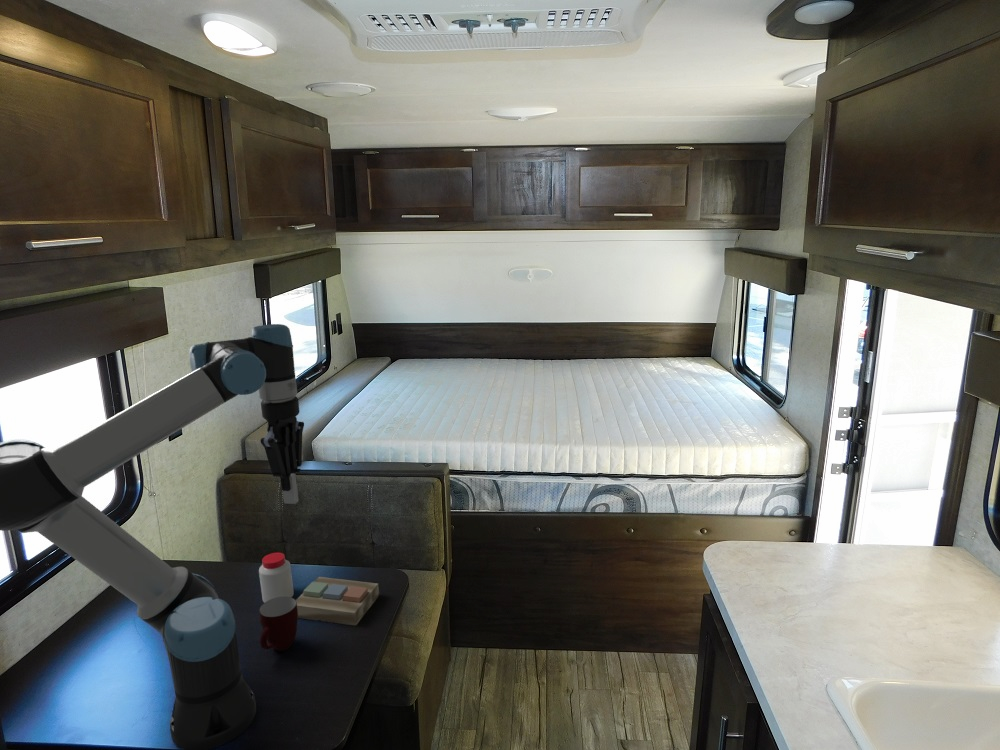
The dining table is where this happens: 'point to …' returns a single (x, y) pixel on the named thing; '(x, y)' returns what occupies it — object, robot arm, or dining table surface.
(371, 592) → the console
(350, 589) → the tile terracotta
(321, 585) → the tile sage
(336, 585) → the tile slate
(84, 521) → the robot arm
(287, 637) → the mug
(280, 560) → the pill bottle
